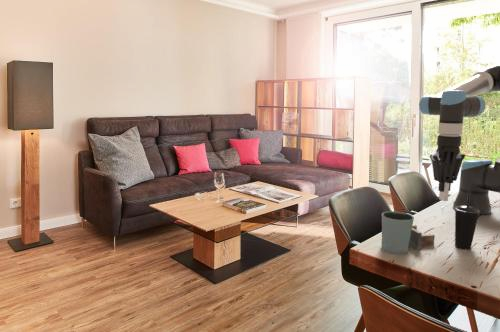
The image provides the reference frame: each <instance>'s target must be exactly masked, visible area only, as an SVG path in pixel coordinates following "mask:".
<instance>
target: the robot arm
mask: <svg viewBox="0 0 500 332" xmlns="http://www.w3.org/2000/svg"><path fill="white" fill-rule="evenodd" d="M490 92H500V63H498V64H494V65H491V66H489V67H486V68H483V69H481V70H479V71H477V72H474V73H473V74H472V75H471V77H470V78H468V79H466V80H463V81H461V82H460V83H457V84H455V85H452V86H451V87H449V88H447V89H445V90H443V91H441V92H439V93H436V94H427V95H423V96H422V97H421V98H420V100H419V104H418V106H419V107H418V109H419V112H420V113H421V114H423V115H429V116H439V120H438V130H437V133H438V135H437V141H436V145H437V148H436V152H435V153H434V154H430V155H429V158H430V161H431V164H432V172H433V181H437V182H438V190H437V191H439V195H438V200H441V201H443V202H448V201H449V192H450V191H451V185H452V184H453V183H454V181H457V179H458V176H459V173H460V178H459V189H458V190H459V191H458V193H457V194H456V195H457V196H456V197H455V200H454V201H453V203H452V208H453V209H454V210H455V207H457V206H461V205H467V197H468V191H470V200H469V206H472V207H475V208H476V209H479V210H480V213H479V215H489V214H491V212H492V206H491V202H490V197H489V193H490V192H494V193H498V194H500V157H498V158H497V159H496V160H494V162H493V160H492V159H483V158H482V159H481V158H480V159H466V160H464V159H465V158H466V154H464V153H461V152H460V151H461V150H460V147H461V146H462V145H461V144H462V136H461V135H462V134H463V126H464V125H463V124H464V118H475V117H478V116H480V115H482V114H483V113H484V112H485V110H486V107H487V106H486V101H485V100H484V98H483V97H481V96H479V95H480V94H482V95H484V94H488V93H490ZM479 215H478V216H479Z"/></svg>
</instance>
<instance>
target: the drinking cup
mask: <svg viewBox="0 0 500 332" xmlns="http://www.w3.org/2000/svg"><path fill="white" fill-rule="evenodd" d="M469 200H470V191H468V197H467V205H461V206H457V207H455V209H454V211H455V212H454V215H455V216H454V219H455V221H454V226H455V227H454V230H455V231H454V247H455V248H456V249H460V250H463V251H464V250H465V251H469V250H471V249H472V245H473V244H472V243H473V240H474V235H475V233H476V232H475V231H476V228H477V223H478V219H479V213H480V210H479V209H476V208H475V207H472V206H469Z"/></svg>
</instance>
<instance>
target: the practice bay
mask: <svg viewBox="0 0 500 332" xmlns="http://www.w3.org/2000/svg"><path fill="white" fill-rule="evenodd" d="M415 229H416V230H415ZM435 237H436V235H435V234H432V233H431V234H423V233H422V232H421V231H419V230H418V226H417V224H413V225H412V230H411V236H410V240H409V246H410V247H411V248H413V249H415V250H417V251H420V250H421V248H422V246H423V247H424V246H425V247H426V246H434V245H435Z"/></svg>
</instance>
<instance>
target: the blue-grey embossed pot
mask: <svg viewBox="0 0 500 332" xmlns="http://www.w3.org/2000/svg"><path fill="white" fill-rule="evenodd" d="M414 220H415V218H414V216H413V215H412V214H410V213H406V212H403V211H402V212H401V211H394V210H393V211H392V210H391V211H384V212H382V213H381V249H382V250H383V251H384V252H386V253H389V254H393V255H403V254H407V253H408V251H409V246H410V245H409V240H410V236H411V230H412V225H414Z"/></svg>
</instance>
